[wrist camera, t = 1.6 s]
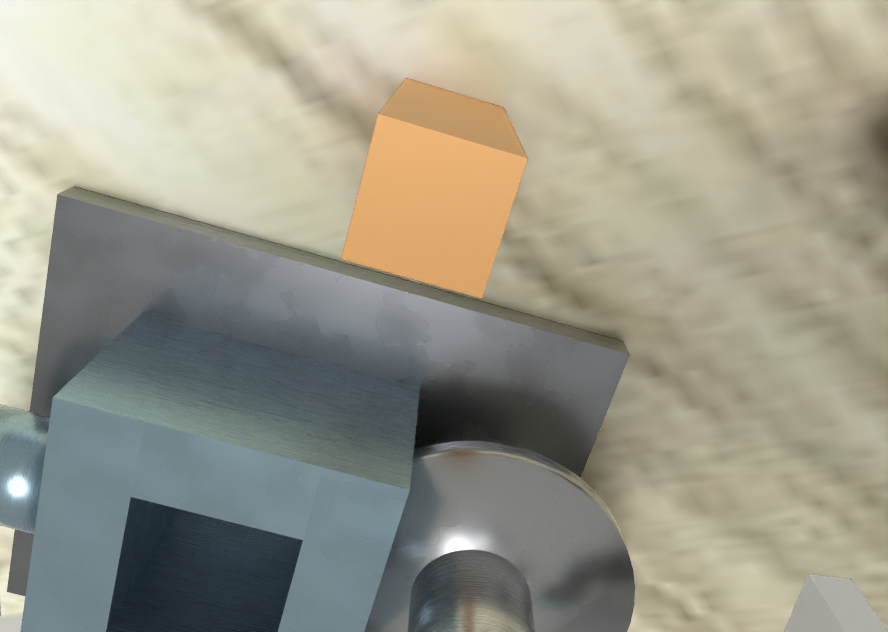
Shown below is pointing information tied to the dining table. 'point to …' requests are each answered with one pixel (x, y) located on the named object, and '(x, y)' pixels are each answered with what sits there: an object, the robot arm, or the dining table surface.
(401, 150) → the orange rectangular block
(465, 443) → the grey square hole fixture
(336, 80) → the dining table surface
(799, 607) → the robot arm
